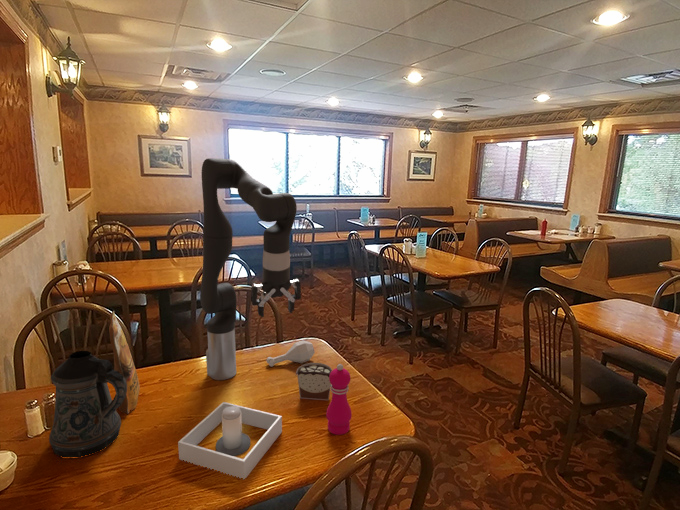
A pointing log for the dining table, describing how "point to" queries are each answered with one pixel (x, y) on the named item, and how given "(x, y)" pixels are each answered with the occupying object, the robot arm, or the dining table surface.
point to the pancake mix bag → (124, 364)
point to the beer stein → (85, 405)
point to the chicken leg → (295, 353)
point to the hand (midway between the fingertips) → (276, 313)
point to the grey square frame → (224, 461)
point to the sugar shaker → (232, 427)
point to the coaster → (236, 451)
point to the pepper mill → (339, 402)
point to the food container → (314, 381)
